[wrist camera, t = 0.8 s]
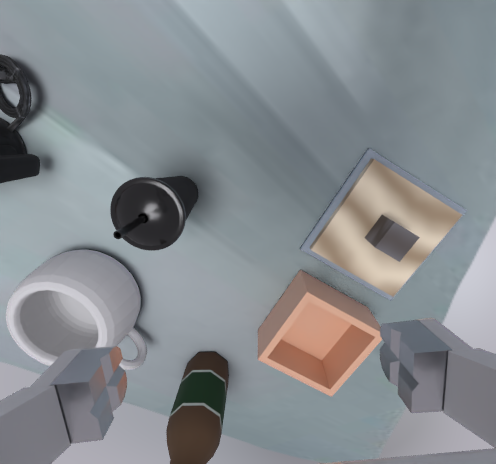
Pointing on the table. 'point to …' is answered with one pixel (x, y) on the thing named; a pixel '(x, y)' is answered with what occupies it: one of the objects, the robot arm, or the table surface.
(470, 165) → the table surface
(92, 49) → the table surface
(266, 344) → the open square planter box
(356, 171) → the slate mat
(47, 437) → the robot arm
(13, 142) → the milk frother
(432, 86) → the table surface
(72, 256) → the mug
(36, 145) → the table surface
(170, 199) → the drinking cup
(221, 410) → the beer bottle
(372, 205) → the birch lid
